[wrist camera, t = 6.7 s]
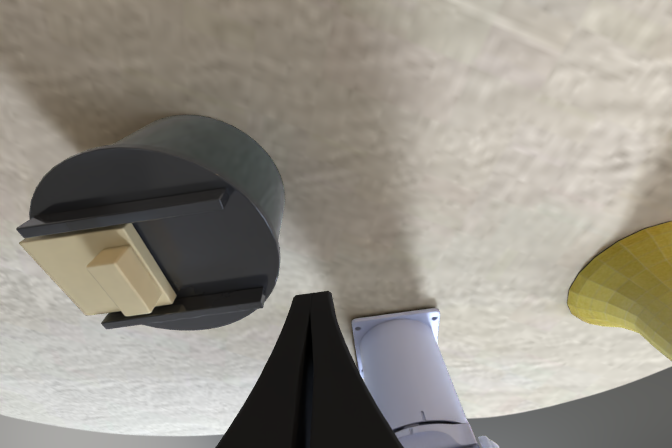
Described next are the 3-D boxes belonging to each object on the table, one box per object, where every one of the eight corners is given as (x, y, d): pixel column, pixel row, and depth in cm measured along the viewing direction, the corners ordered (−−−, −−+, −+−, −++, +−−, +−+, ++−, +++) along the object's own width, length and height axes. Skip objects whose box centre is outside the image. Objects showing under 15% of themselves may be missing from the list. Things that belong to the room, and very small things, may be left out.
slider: (130, 219, 12) (104, 246, 11) (177, 295, 15) (161, 325, 13) (29, 234, 12) (-11, 262, 11) (93, 306, 15) (68, 337, 13)
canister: (266, 95, 16) (234, 135, 10) (303, 246, 22) (298, 332, 16) (78, 124, 16) (-70, 181, 10) (165, 265, 22) (105, 358, 16)
